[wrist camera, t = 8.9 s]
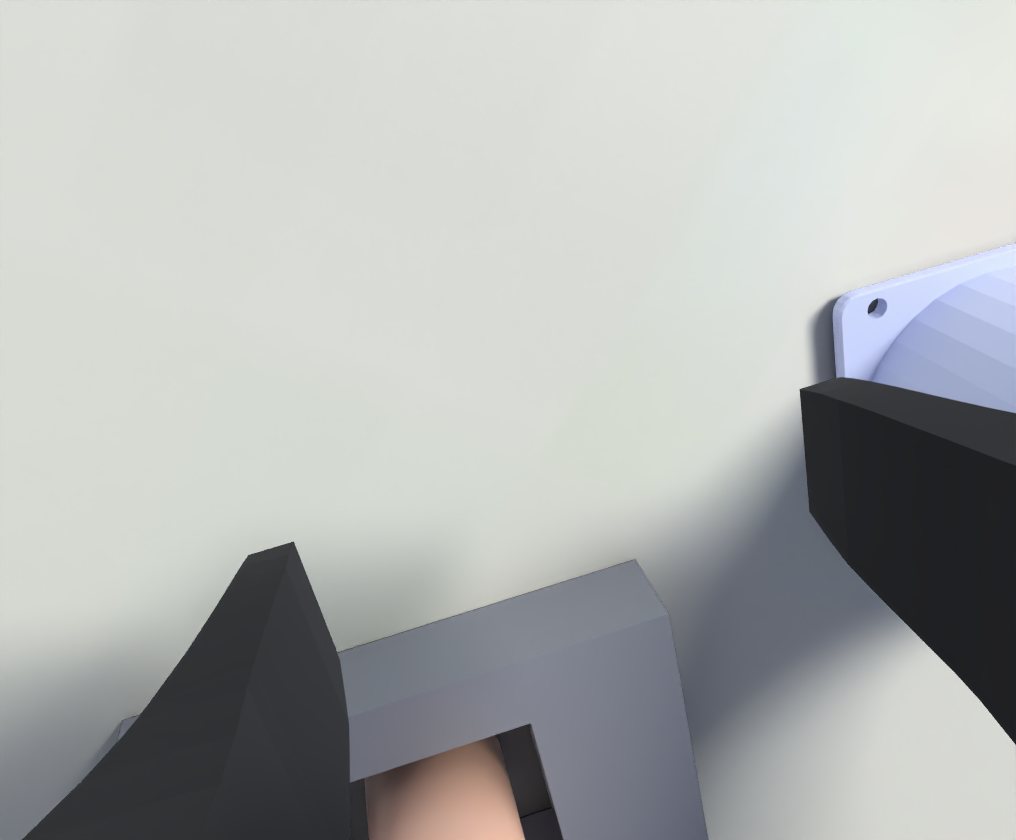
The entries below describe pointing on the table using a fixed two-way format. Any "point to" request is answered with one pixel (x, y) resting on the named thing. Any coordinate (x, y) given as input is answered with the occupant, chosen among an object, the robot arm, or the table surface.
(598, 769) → the housing
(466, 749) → the pink rounded capsule
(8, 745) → the table surface
